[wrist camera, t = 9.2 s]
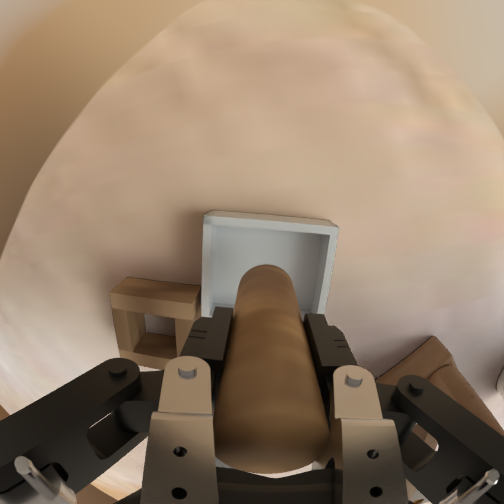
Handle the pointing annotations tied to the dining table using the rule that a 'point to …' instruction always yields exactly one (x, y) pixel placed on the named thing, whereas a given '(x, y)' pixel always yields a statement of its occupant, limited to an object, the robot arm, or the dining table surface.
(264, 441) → the dowel
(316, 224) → the tray
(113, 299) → the socket block
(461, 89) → the dining table surface
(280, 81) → the dining table surface
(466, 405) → the tan angled wooden part
